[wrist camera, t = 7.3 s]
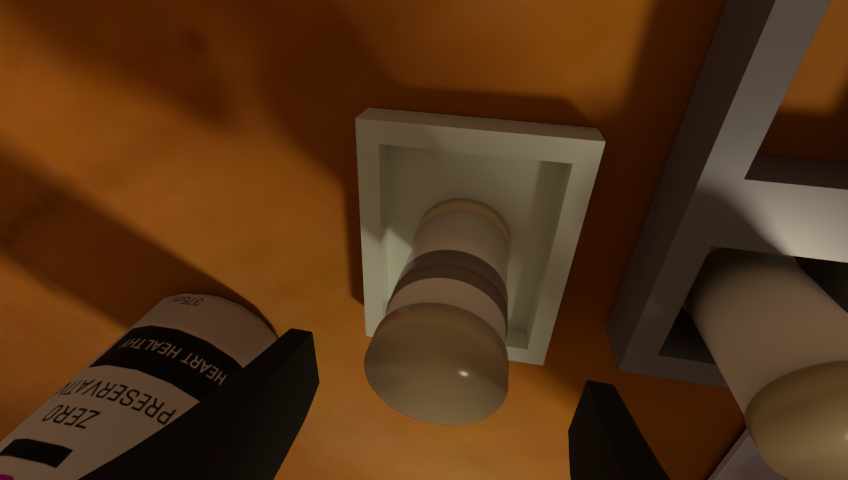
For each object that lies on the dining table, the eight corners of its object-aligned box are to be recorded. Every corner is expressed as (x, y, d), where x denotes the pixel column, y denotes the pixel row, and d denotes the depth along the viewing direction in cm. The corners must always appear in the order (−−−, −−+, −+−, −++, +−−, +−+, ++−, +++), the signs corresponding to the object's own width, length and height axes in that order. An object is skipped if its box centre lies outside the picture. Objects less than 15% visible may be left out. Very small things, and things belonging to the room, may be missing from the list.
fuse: (757, 317, 16) (894, 501, 10) (656, 302, 17) (732, 470, 11) (808, 236, 14) (1013, 407, 8) (692, 222, 15) (808, 375, 9)
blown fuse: (502, 285, 17) (496, 437, 11) (414, 270, 18) (365, 409, 12) (518, 205, 15) (520, 340, 9) (419, 191, 16) (362, 312, 10)
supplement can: (227, 400, 27) (-29, 767, 14) (132, 309, 24) (-306, 674, 11) (321, 374, 23) (96, 820, 11) (224, 264, 20) (-246, 710, 8)
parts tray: (540, 341, 19) (542, 365, 18) (375, 314, 20) (366, 336, 19) (597, 127, 14) (606, 141, 12) (368, 107, 15) (355, 118, 14)
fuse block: (781, 352, 17) (819, 404, 15) (605, 325, 18) (617, 370, 16) (1083, -70, 10) (1244, -86, 7) (755, -77, 10) (815, -93, 8)
